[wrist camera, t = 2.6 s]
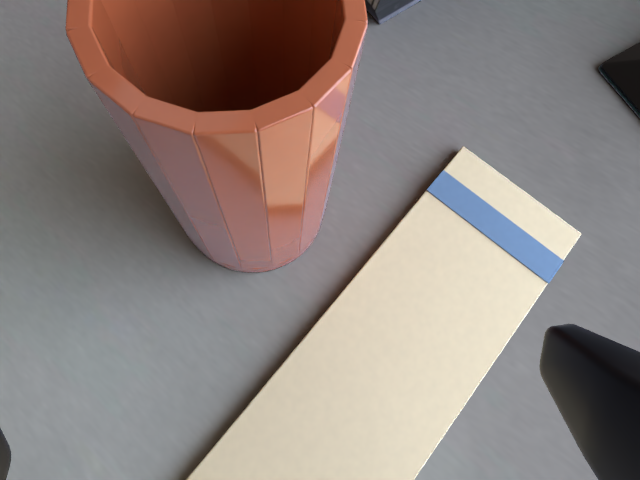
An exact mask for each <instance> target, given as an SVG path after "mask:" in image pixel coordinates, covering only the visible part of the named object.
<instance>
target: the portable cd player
mask: <svg viewBox="0 0 640 480" xmlns="http://www.w3.org/2000/svg"><path fill="white" fill-rule="evenodd" d="M419 1H421V0H365V5H366V9H367V10H368V11H369V12H370V13H371V15H372V16H373V17H374V18H375V19H376V20H377V21H378V22H379V24H381V23H383V22H385V21H387V20H388V19H390V18H392V17H393V16H395V15H397V14H399V13H400V12H402V11H404V10H406V9H407V8H409V7H411V6H412V5H414V4H416V3H418V2H419Z"/></svg>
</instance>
